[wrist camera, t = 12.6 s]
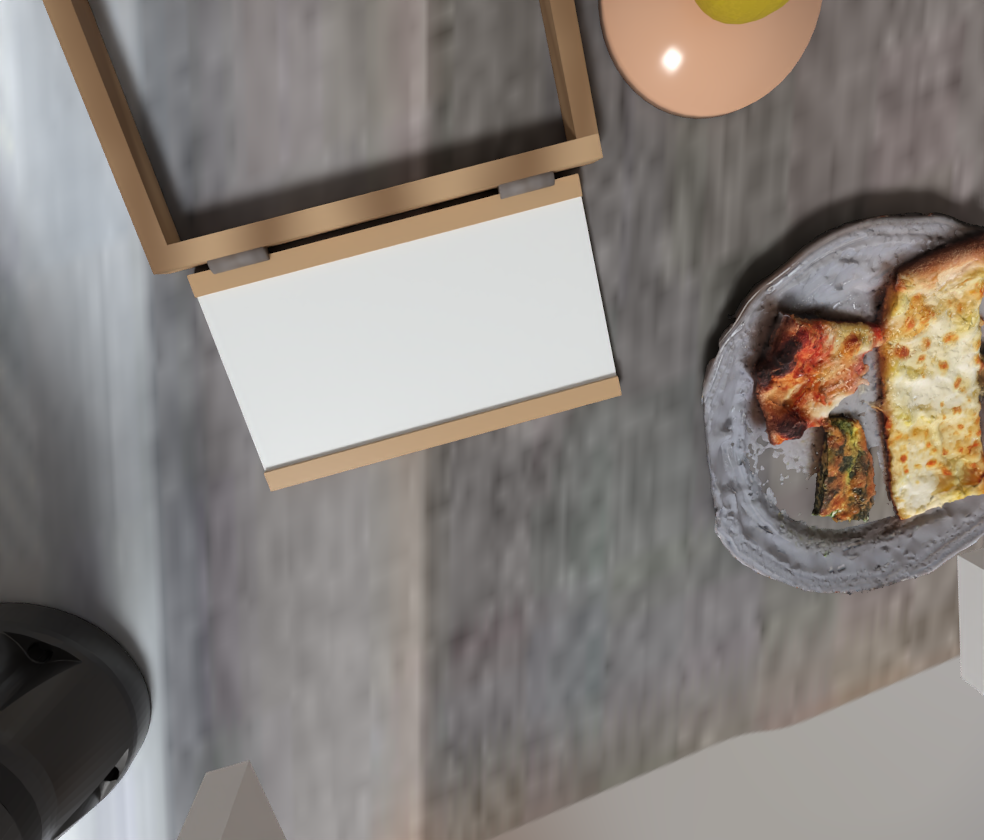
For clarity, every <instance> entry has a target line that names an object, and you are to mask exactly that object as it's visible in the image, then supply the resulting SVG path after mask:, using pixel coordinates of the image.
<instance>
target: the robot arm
mask: <svg viewBox="0 0 984 840" xmlns="http://www.w3.org/2000/svg"><path fill="white" fill-rule="evenodd" d="M957 559H958V592H959V626H960V659H961V678H962V679H963V680H964V681H966V682H967V683H968V684H969V685H971V686H972V687H973V688H975V689H976V690H977V691H979V692H980V693H981V694H982V695H984V547H983V548H980V549H977V550H973V551H970V552H966V553H963V554H959V555H957ZM149 722H150V700H149V694H148V691H147V687H146V684H145V681H144V679H143V677H142V675H141V673H140V671H139V669H138V667H137V666H136V664H135V663H134V661H133V660H132V659H131V657H130V656H129V655H128V653H127V652H126V651H125V650H124V649H123V648H122V647H121V646H120V645H119V644H118V643H117V642H116V641H115V640H113V639H112V638H111V637H110V636H109V635H107V634H106V633H104V632H103V631H102V630H100V629H99V628H97V627H95V626H94V625H92V624H90V623H88V622H87V621H85V620H83V619H80V618H78V617H76V616H74V615H71V614H68V613H66V612H63V611H60V610H56V609H53V608H49V607H44V606H39V605H32V604H23V603H0V840H58V839H59V838H60V837H61V836H62V835H63V834H64V833H66V832H67V831H68V830H69V829H70V828H71V827H72V826H73V825H74V824H76V823H77V822H78V821H79V820H80V819H81V818H82V817H83V816H85V815H86V814H87V813H88V812H89V811H90V810H91V809H92V808H94V807H95V806H96V805H97V804H98V803H99V802H100V801H101V800H102V799H104V798H105V797H106V796H107V795H108V794H109V793H110V792H111V791H112V790H113V789H114V788H115V786H116V785H117V784H118V783H119V781H120V780H121V779H122V778H123V776H124V775H125V773H126V772H127V770H128V768H129V767H130V765H131V763H132V761H133V760H134V758H135V756H136V755H137V753H138V751H139V750H140V748H141V746H142V744H143V742H144V740H145V737H146V734H147V731H148V727H149ZM177 840H286V838H285V836H284V833H283V831H282V829H281V827H280V825H279V823H278V821H277V819H276V816H275V814H274V812H273V810H272V808H271V806H270V804H269V801H268V799H267V797H266V795H265V793H264V791H263V789H262V786H261V784H260V782H259V780H258V778H257V776H256V774H255V772H254V769H253V767H252V765H251V763H250V761H249V760H248V761H245V762H241V763H238V764H234V765H231V766H227V767H224V768H220V769H217V770H214V771H210V772H207V773H206V774H205V776H204V779H203V781H202V783H201V786H200V788H199V790H198V792H197V795H196V797H195V799H194V802H193V804H192V806H191V809H190V811H189V813H188V816H187V818H186V820H185V823H184V825H183V827H182V829H181V832H180V834H179V836H178V839H177Z"/></svg>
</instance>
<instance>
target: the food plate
mask: <svg viewBox="0 0 984 840" xmlns="http://www.w3.org/2000/svg"><path fill="white" fill-rule="evenodd" d="M749 292H750V293H748V295H747V296H746V297H745V299H743V300H742V301H741V304H739V307H738V308H737V310H736V312H735V315H734V314H733V316H731V317H729V316H730V315H728V318H729V319H730V318H735V317H737V318H736V319H735V321H736V322H734V324H730V325H729V326H728V327H727V328H726V329H725V330H724V332H723V333H722V334H721V337H720V338H719V346H720V347H719V351H718V354H717V356H716V357H715V359H713V358H712V359H711V360H710V361H709V363H708V364H707V367H706V371H705V378H704V382H703V392H702V403H701V405H702V404H703V397H704V424H705V427H706V428H705V431H706V446H707V458H708V461H707V462H708V464H709V468H710V476H711V493H712V496H713V500H714V507H715V508H716V509H717V512H716V514H715V532H716V534H717V535H718V537H719V538H720V540H721V541H722V543H723V545H724V546H725V547H726V548H727V549H728V550H729V552H730V553H731V554H732V556H733V557H735V558H736V559H737V560H738V561H739V562H741V563H742V564H744V565H746V566H748V567H750V568H752V569H753V570H754V571H755V572H756V573H758V574H763V575H764V576H767V577H769V578H771V579H774V580H778V581H781V582H784V583H786V584H788V585H790V586H794V587H796V588H798V587H799V588H801V590H804V591H809V590H810V592H811V591H813V592H814V591H815V592H819V593H820V592H823V593H838V592H839V593H847V594H849V595H851V593H850V592H854V591H857V592H858V591H860V592H862V591H863V590H869V591H870V590H872V589H873V590H875V589H878V588H881V587H882V588H883V587H884V586H887V585H892V584H894V583H897V582H900V581H904V580H906V579H910V578H917V577H919V576H922V575H927V574H929V573H931V572H933V571H934V570H936V569H937V568H938V567H939V566H941V565H943V564H944V563H945V562H946V561H948V559H950V558H952V557H953V556H954V555H956V554H957V553H958V552H960V551H962V550H965V549H966V548H967V547H970V546H972V545H973V544H974V543H976V542H977V540H978V539H979V538H980V537H981V536H982V535H984V227H983V226H982V227H981V226H978V225H970V224H966V222H962V221H959V220H958V219H957V220H956V219H955V218H954V217H951V216H947V215H945V214H942V213H937V212H936V213H931V214H928V215H925V214H924V215H922V213H906V215H905V214H904V215H901V214H897V215H894V216H893V215H883V216H877V217H871V218H867V219H861V220H856V221H853V222H850V223H845V224H844V225H842V226H839V227H838V228H833V229H830V230H828V231H827V232H826V231H825V232H824V233H822V234H821V235H819V236H817V237H816V238H814V240H813V241H810V242H809V243H808V244H806V245H805V246H803V247H802V248H801V249H800V250H798V252H796V253H795V254H794V255H793V257H791V258H789V260H788V261H787V262H785V263H784V265H782V266H780V267H779V268H778V269H777V270H775V271H774V272H773V273H772V274H771V275H769V276H767V277H766V278H765V279H762V280H761V281H760V282H758V283H756V284H755V285H754V287H753V288H752V289H751V290H750V291H749ZM860 400H865V402H864V403H863V404H862V403H861V402H860ZM861 412H862V413H863V412H866V413H865V416H860V417H859V416H858V414H860V413H861ZM746 423H747V424H748V427H749V428H751V431H753V432H752V433H748V432H747V425H746ZM875 428H876V429H875ZM759 436H762V440H763V441H767V442H769V443H768V445H767V446H766V447H765V449H766V448H769V447H772V448H774V449H779V448H782V449H783V452H778V453H777V451H776V450H775V451H774V453H773V454H772V455H773V457H774V458H778V456H779V455H780V453H781V454H785V457H784V458H783V462H784V463H785V464H787V466H786V468H787V470H788V469H793V468H794V469H796V472H800V471H801V469H800V468H799V467H800V466H802V467H804V469H803V470H802V471H803V472H804V473H808V474H810V475H808V476H807V477H806V480H809V478H810V477H811V476H812V475H813V474H814V473H817V477H816V492H815V503H814V510H813V512H812V515H815V516H817V515H819V516H822V517H825V516H830V517H831V519H832V520H834V521H835V522H842V521H845V520H848V521H849V523H850V521H851V520H858V521H859V520H860V519H862V520H863V521H864V522H867V521H868V520H869V511H870V509H871V507H872V506H873V505H874V500H875V495H876V491H875V490H874V489H875V486H876V485H875V484H874V483H873V477H874V475H875V474H874V469H873V463H874V462H873V458H872V455H871V454H870V452H869V450H868V449H869V448H871V447H875V446H879V449H880V450H878V451H877V455H878V458H879V459H878V460H879V466H880V467H881V469H882V470H884V471H883V472H882V474H883V475H884V476H883V483H885V484H886V491H887V496H888V499H889V501H891V500H892V504H893V506H894V507H893V511H894V512H895V513H896V515H895V516H893V517H887V518H884V519H882V520H877V521H873V522H869V523H866V524H860V525H858V526H852V527H847V528H845V529H840V530H834V529H818V526H812V527H808V526H807V524H806V522H802V521H803V520H802V521H797V522H795V521H793V520H792V519H791V518H789V516H788V514H786V510H784V509H783V510H782V511H781V512H780V510H779V509H778V508H777V507H776V506H775V504H776V503H777V501H776V497H775V498H774V497H773V495H774V493H773V492H772V490H771V488H770V487H769V488H768V489H767V493H766V494H764V493H763V492H762V490H761V489H762V488H761V486H760V485H761V481H760V479H759V478H758V476H757V473H758V471H759V469H757V462H758V457H757V455H760V454H761V453H762V452H764V450H765V449H764V447H763V446H762V445H761V444H759V443H757V442H756V440H757V438H758V437H759ZM732 442H734V447H732V446H731V443H732ZM749 443H751V444H752V449H753V450H754V454H756V451H757V449H758V448H761V449H760V450H759V452H758V454H756V455H755V456H754V454H753V457H752V459H754V460H755V463H754V466H753V467H754V468H755V469H756V470H755V471H756V472H752V471H751V470H750V466H749V464H750V463H749V459H747V457H746V452H747V453H749V455H748V456H752V454H751V453H750V450H749V449H748V445H749ZM813 444H814V445H813ZM884 446H885V448H884ZM816 452H818V454H816ZM792 458H798V459H799V460H798V461H797V462H794V459H792ZM815 467H816V469H814V468H815ZM762 469H763V470H764V467H763V466H761V469H760V470H762ZM885 472H886V473H887V475H885ZM804 475H805V474H804ZM788 477H789V475H788V476H786V477H785V479H786V478H788ZM780 480H781V481H783V480H784V477H782V474H781V478H780ZM768 481H769V480H767V482H768ZM791 483H792V482H791ZM783 484H784V483H783V482H781V485H783ZM764 485H765V484H763V486H764ZM807 489H808V488H807ZM774 502H775V503H774ZM887 504H888V505H889V503H887ZM800 514H801V513H799V515H800ZM716 518H717V520H718V521H717V523H718V528H717V523H716Z"/></svg>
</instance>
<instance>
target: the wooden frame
mask: <svg viewBox="0 0 984 840" xmlns="http://www.w3.org/2000/svg"><path fill="white" fill-rule="evenodd" d="M539 2H540V7H541V12H542V17H543V22H544V27H545V32H546V37H547V42H548V48H549V53H550V58H551V63H552V68H553V73H554V78H555V83H556V88H557V93H558V98H559V103H560V108H561V113H562V118H563V123H564V128H565V133H566V138H567V142H563V143H559V144H556V145H552V146H548V147H544V148H540V149H536V150H532V151H529V152H525V153H521V154H517V155H513V156H509V157H505V158H502V159H498V160H494V161H490V162H486V163H482V164H478V165H475V166H471V167H467V168H463V169H459V170H455V171H451V172H448V173H444V174H440V175H436V176H432V177H428V178H424V179H421V180H417V181H413V182H409V183H405V184H401V185H397V186H394V187H390V188H386V189H382V190H378V191H374V192H370V193H367V194H363V195H359V196H355V197H351V198H347V199H344V200H340V201H336V202H332V203H328V204H324V205H320V206H317V207H313V208H309V209H305V210H301V211H297V212H293V213H290V214H286V215H282V216H278V217H274V218H270V219H266V220H263V221H259V222H255V223H251V224H247V225H243V226H239V227H236V228H232V229H228V230H224V231H220V232H216V233H212V234H209V235H205V236H201V237H197V238H193V239H189V240H185V241H182V242H181V241H180V238H179V235H178V233H177V230H176V228H175V225H174V223H173V220H172V217H171V215H170V212H169V210H168V207H167V204H166V202H165V199H164V197H163V194H162V192H161V189H160V186H159V184H158V181H157V179H156V176H155V173H154V171H153V168H152V166H151V163H150V161H149V158H148V155H147V153H146V150H145V148H144V145H143V142H142V140H141V137H140V135H139V132H138V130H137V127H136V124H135V122H134V119H133V117H132V114H131V111H130V109H129V106H128V104H127V101H126V98H125V96H124V93H123V91H122V88H121V86H120V83H119V80H118V78H117V75H116V73H115V70H114V67H113V65H112V62H111V60H110V57H109V55H108V52H107V49H106V47H105V44H104V42H103V39H102V36H101V34H100V31H99V29H98V26H97V24H96V21H95V18H94V16H93V13H92V11H91V8H90V5H89V3H88V0H43V3H44V5H45V8H46V10H47V13H48V15H49V18H50V20H51V23H52V25H53V27H54V30H55V32H56V35H57V37H58V40H59V42H60V45H61V47H62V50H63V52H64V55H65V57H66V60H67V62H68V64H69V67H70V69H71V72H72V74H73V77H74V79H75V82H76V84H77V87H78V89H79V92H80V94H81V96H82V99H83V101H84V104H85V106H86V109H87V111H88V114H89V116H90V119H91V121H92V124H93V126H94V129H95V131H96V133H97V136H98V138H99V141H100V143H101V146H102V148H103V151H104V153H105V156H106V158H107V161H108V163H109V166H110V168H111V170H112V173H113V175H114V178H115V180H116V183H117V185H118V188H119V190H120V193H121V195H122V198H123V200H124V202H125V205H126V207H127V210H128V212H129V215H130V217H131V220H132V222H133V225H134V227H135V230H136V232H137V235H138V237H139V239H140V242H141V244H142V247H143V249H144V252H145V254H146V257H147V259H148V262H149V264H150V267H151V269H152V272H153V274H170V273H174V272H178V271H181V270H185V269H189V268H193V267H197V266H201V265H204V264H208V266H209V268H210V270H211V272H212V273H213V274H217V273H221V272H225V271H229V270H233V269H237V268H240V267H244V266H248V265H252V264H256V263H259V262H263V261H267V260H270V258H269V255H268V254H269V251H268V248H270V247H273V246H277V245H281V244H285V243H289V242H293V241H296V240H300V239H304V238H308V237H312V236H316V235H319V234H323V233H327V232H331V231H335V230H339V229H342V228H346V227H350V226H354V225H358V224H362V223H365V222H369V221H373V220H377V219H381V218H385V217H388V216H392V215H396V214H400V213H404V212H408V211H411V210H415V209H419V208H423V207H427V206H431V205H434V204H438V203H442V202H446V201H450V200H454V199H457V198H461V197H465V196H469V195H473V194H477V193H480V192H484V191H488V190H492V189H496V188H498V193H499V194H500V198H501V199H504V198H508V197H512V196H516V195H519V194H523V193H527V192H531V191H535V190H538V189H542V188H546V187H550V186H554V184H555V178H554V173H557V172H561V171H565V170H568V169H572V168H576V167H580V166H584V165H588V164H591V163H594V162H596V161H597V160H599V159H601V158H602V157H603V156H602V150H601V145H600V139H599V134H598V128H597V123H596V118H595V112H594V107H593V101H592V96H591V90H590V85H589V79H588V74H587V68H586V63H585V58H584V52H583V47H582V41H581V36H580V30H579V25H578V19H577V14H576V8H575V3H574V0H539Z"/></svg>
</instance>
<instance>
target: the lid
mask: <svg viewBox="0 0 984 840" xmlns="http://www.w3.org/2000/svg"><path fill="white" fill-rule="evenodd" d="M581 196H583V195H582V190H581V185H580V180H579V175H578V174H574V175H570V176H566V177H562V178H559V179H555V184H554V186H550V187H546V188H542V189H538V190H535V191H531V192H527V193H523V194H519V195H516V196H512V197H508V198H504V199H501V198H500V194H497V195H494V196H490V197H486V198H482V199H478V200H474V201H471V202H467V203H463V204H459V205H455V206H451V207H448V208H444V209H440V210H436V211H432V212H429V213H425V214H421V215H417V216H413V217H409V218H406V219H402V220H398V221H394V222H390V223H386V224H383V225H379V226H375V227H371V228H367V229H363V230H360V231H356V232H352V233H348V234H344V235H341V236H337V237H333V238H329V239H325V240H321V241H318V242H314V243H310V244H306V245H302V246H298V247H295V248H291V249H287V250H283V251H279V252H275V253H272V254H268V255H269V258H270V260H267V261H263V262H259V263H256V264H252V265H248V266H244V267H240V268H237V269H233V270H229V271H225V272H221V273H217V274H213V273H212V272H211V270H207V271H203V272H199V273H195V274H191V275H187V277H188V280H189V283H190V285H191V288H192V290H193V293H194V295H195V298H196V297H198V300H199V303H200V305H201V308H202V310H203V313H204V315H205V318H206V321H207V323H208V326H209V328H210V331H211V333H212V336H213V339H214V341H215V344H216V346H217V349H218V351H219V354H220V357H221V359H222V362H223V364H224V367H225V369H226V372H227V375H228V377H229V380H230V382H231V385H232V387H233V390H234V392H235V395H236V398H237V400H238V403H239V405H240V408H241V410H242V413H243V416H244V418H245V421H246V423H247V426H248V428H249V431H250V434H251V436H252V439H253V441H254V444H255V446H256V449H257V452H258V454H259V457H260V459H261V462H262V464H263V467H264V470H265V473H264V475H265V477H266V480H267V482H268V485H269V488H270V490H271V491H275V490H278V489H282V488H285V487H289V486H293V485H296V484H300V483H304V482H307V481H311V480H315V479H318V478H322V477H325V476H329V475H333V474H336V473H340V472H344V471H347V470H351V469H355V468H358V467H362V466H366V465H369V464H373V463H376V462H380V461H384V460H387V459H391V458H395V457H398V456H402V455H406V454H409V453H413V452H416V451H420V450H424V449H427V448H431V447H435V446H438V445H442V444H446V443H449V442H453V441H456V440H460V439H464V438H467V437H471V436H475V435H478V434H482V433H486V432H489V431H493V430H497V429H500V428H504V427H507V426H511V425H515V424H518V423H522V422H526V421H529V420H533V419H537V418H540V417H544V416H547V415H551V414H555V413H558V412H562V411H566V410H569V409H573V408H577V407H580V406H584V405H587V404H591V403H595V402H598V401H602V400H606V399H609V398H613V397H617V396H620V395H621V389H620V384H619V379H618V376H616V371H615V366H614V361H613V355H612V350H611V345H610V340H609V335H608V330H607V325H606V320H605V315H604V310H603V305H602V299H601V294H600V289H599V284H598V279H597V274H596V269H595V264H594V259H593V254H592V249H591V243H590V238H589V233H588V228H587V223H586V218H585V213H584V208H583V203H582V198H581Z"/></svg>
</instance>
